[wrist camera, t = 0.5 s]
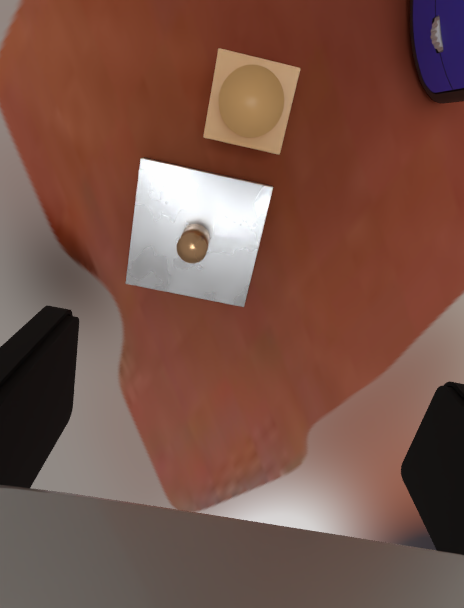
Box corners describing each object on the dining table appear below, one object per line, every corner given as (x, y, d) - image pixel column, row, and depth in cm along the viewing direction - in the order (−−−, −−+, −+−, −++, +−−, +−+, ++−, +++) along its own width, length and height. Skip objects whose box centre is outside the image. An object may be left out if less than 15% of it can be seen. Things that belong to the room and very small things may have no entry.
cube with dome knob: (221, 60, 29) (217, 42, 23) (290, 77, 30) (305, 63, 23) (208, 135, 31) (201, 137, 25) (273, 150, 32) (282, 156, 25)
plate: (144, 157, 32) (130, 161, 28) (271, 185, 33) (276, 193, 29) (129, 278, 36) (115, 298, 32) (243, 301, 36) (244, 323, 32)
